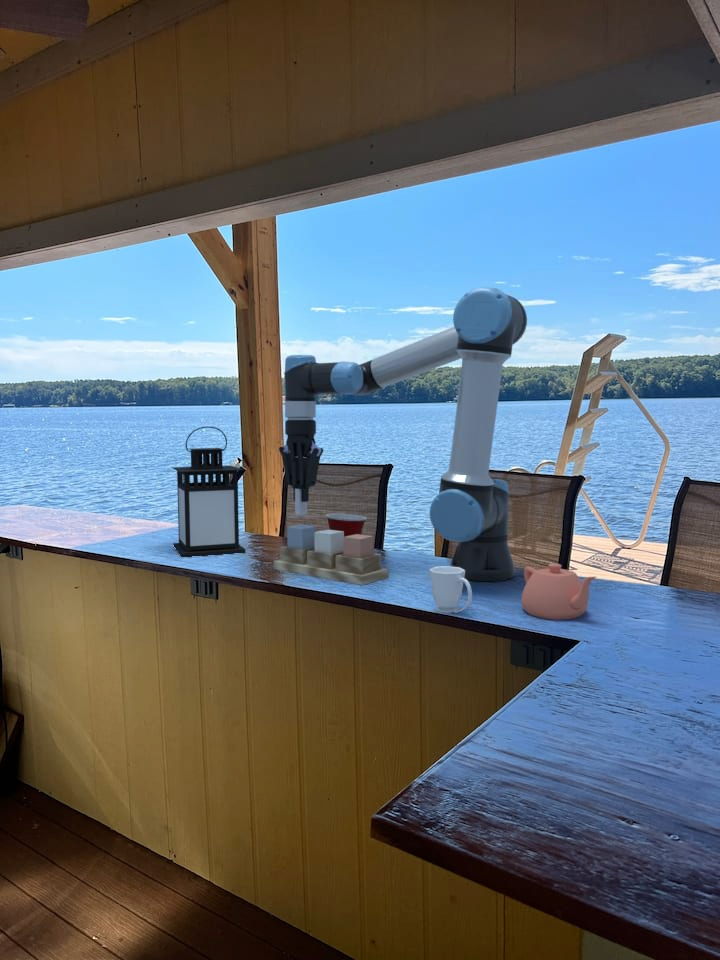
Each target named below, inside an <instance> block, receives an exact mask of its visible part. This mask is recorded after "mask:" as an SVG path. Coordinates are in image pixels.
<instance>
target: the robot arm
mask: <svg viewBox="0 0 720 960" xmlns="http://www.w3.org/2000/svg"><path fill="white" fill-rule="evenodd" d="M527 315H528V314H527V311H526V310H525V308H524V305H523V304H522V303H521V302H520V301H519V300H518V299H517V298H515V297H514V296H511V295H509V294H506V293H505V292H504V291H502V290H500V289H498V288H494V287H493V288H492V287H488V286H483V287H482V286H480V287H476V288H472V289H471V290H469V291H467V292H466V293H465V294H464V295H463V296H461V298H460V299H459V300H458V301H457V303H456V306H455V308H454V310H453V315H452V316H453V317H452V321H453V327H450V328H447V329H445V330H443V331H440V332H438V333H435V334H432V335H430V336H427V337H424V338H423V339H421V340H418V341H415V342H412V343H410V344H407V345H405V346H403V347H399V348H397V349H395V350H393V351H390V352H387V353H385V354H383V355H380V356H377V357H374V358H373V359H371V360H367V361H365V362H363V363H361V364H358V363H357V362H354V361H337V362H334V361H333V362H321V363H320V362H317V360H316V357H315V355H312V354H290V355H288V356H286V358H285V360H284V365H285V366H284V373H283V374H284V385H285V386H284V392H285V393H284V394H285V398H284V399H285V401H284V402H285V403H284V417H285V418H287V419H286V420H285V422H284V424H285V425H284V428H285V429H284V432H285V435H287V438H286V441H285V443H286V444H284V445H283V446H279V448H278V451H279V453H280V456H281V459H282V465H283V469H284V470H283V471H284V474H285V475H284V476H285V482H286V484H287V486H290V487H292V490H293V498H292V499H293V502H294V509H295V510H294V515H295V516H304V515H305V516H306V515H308V502H309V500H310V495H309V494H310V492H309V489H310V488H311V487H315V486H316V484H317V483H316V482H317V477H318V471H319V467H320V461H321V457H322V455H323V453H324V448H323V447H318V445H316V440H315V435H316V434H317V421H316V420H314V418H316V417H317V415H316V414H317V412H316V411H317V409H316V408H317V407H316V405H317V403H316V400H317V395H341V396H343V395H346V396H349V395H350V396H351V395H352V396H361V397H368V396H373V395H375V394H377V393H378V392H379V391H380V390H381V389H383V388H386V387H389V386H391V385H394V384H396V383H399V382H403V381H405V380H407V379H409V378H413V377H415V376H417V375H420V374H424V373H425V372H429V371H432V370H434V369H437V368H440V367H442V366H444V365H447V364H450V363H452V362H456V361H458V360H462V362H461V369H460V377H459V384H458V385H459V386H458V392H457V393H458V395H457V402H456V411H455V418H454V427H453V435H452V443H451V449H450V450H451V451H450V459H449V466H448V467H449V468H448V470H446V472H444V473H443V474H442V475H441V477H440V483H439V491H438V494H437V495H435V497H434V498H433V500H432V502H431V504H430V507H429V519H430V522H431V525H432V528H434V530H435V531H436V532H437V534H438V535H439V536H441V538H442V539H445V540H447V541H449V542H453V543H456V547H455V549H454V552H453V556H452V559H451V562H450V565H449V566H452V567H460V568H462V569H464V570H465V576H464V578H465V579H466V580H468V581H475V582H498V581H506V580H510V579H512V578H515V570H516V569H515V564H514V561H513V557H512V553H511V551H510V548H509V543H508V535H509V534H508V533H509V532H508V531H509V529H508V528H509V526H508V525H509V496H510V492H509V485H508V482H507V481H505V480H504V479H497V478H496V479H495V478H491V477H490V474H489V471H490V465H491V456H492V455H491V454H492V448H493V441H494V433H495V426H496V425H495V424H496V419H497V410H498V404H499V403H498V402H499V395H500V388H501V387H500V386H501V379H502V372H503V365H504V363H506V361H507V360H509V359H510V358H511V357H512V354H513V353H512V352H513V346H514V345H515V344H516V343H518V342H519V341H520V339H522V337H523V335H524V334H525V332H526V329H527V326H528V317H527Z"/></svg>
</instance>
